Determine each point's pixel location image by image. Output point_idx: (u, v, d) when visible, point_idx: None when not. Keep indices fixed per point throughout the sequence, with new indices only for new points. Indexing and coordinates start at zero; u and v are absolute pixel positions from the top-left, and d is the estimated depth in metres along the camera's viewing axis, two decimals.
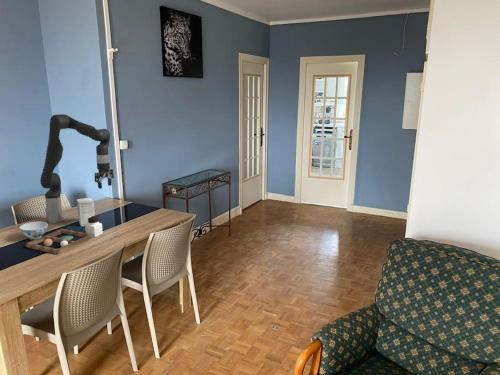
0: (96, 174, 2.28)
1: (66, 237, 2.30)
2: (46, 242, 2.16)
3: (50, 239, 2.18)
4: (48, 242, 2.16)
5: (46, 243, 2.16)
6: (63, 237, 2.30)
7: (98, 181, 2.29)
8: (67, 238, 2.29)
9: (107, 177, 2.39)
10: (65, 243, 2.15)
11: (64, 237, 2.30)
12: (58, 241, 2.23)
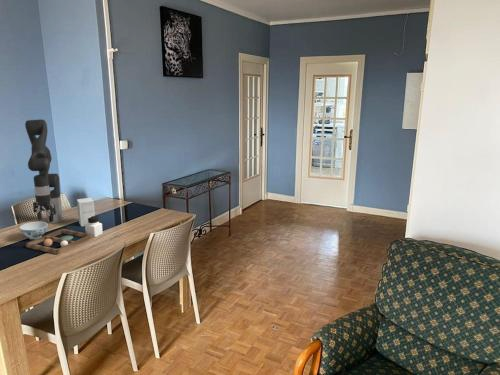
0: (53, 206, 2.10)
1: (66, 237, 2.30)
2: (46, 242, 2.16)
3: (50, 239, 2.18)
4: (48, 242, 2.16)
5: (46, 243, 2.16)
6: (63, 237, 2.30)
7: (55, 213, 2.12)
8: (67, 238, 2.29)
9: (38, 211, 2.14)
10: (65, 243, 2.15)
11: (64, 237, 2.30)
12: (58, 241, 2.23)
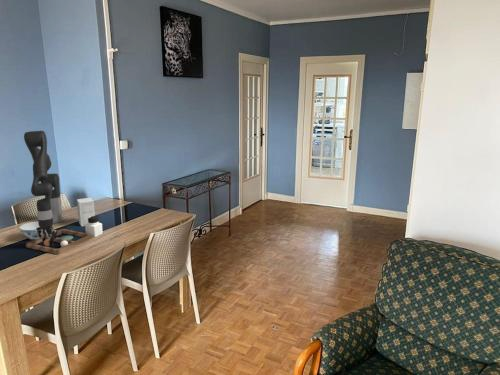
0: (55, 232, 2.14)
1: (66, 237, 2.30)
2: (46, 242, 2.16)
3: None
4: (48, 242, 2.16)
5: (46, 243, 2.16)
6: (63, 237, 2.30)
7: (55, 237, 2.16)
8: (67, 238, 2.29)
9: (43, 236, 2.17)
10: (65, 243, 2.15)
11: (64, 237, 2.30)
12: (58, 241, 2.23)
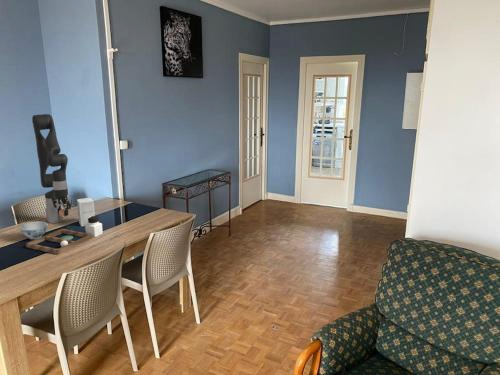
0: (70, 202, 2.22)
1: (66, 237, 2.30)
2: (61, 212, 2.23)
3: None
4: (63, 212, 2.24)
5: (61, 213, 2.23)
6: (63, 237, 2.30)
7: (70, 207, 2.24)
8: (67, 238, 2.29)
9: (58, 206, 2.25)
10: (65, 243, 2.15)
11: (64, 237, 2.30)
12: (58, 241, 2.23)
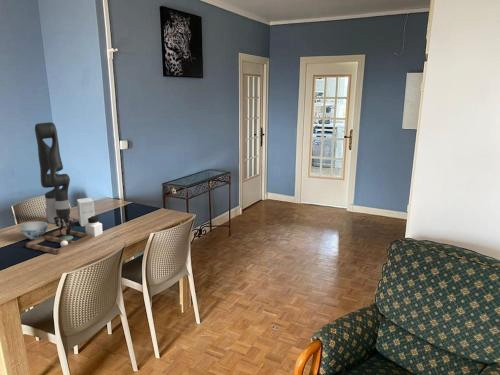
0: (72, 221, 2.25)
1: (66, 237, 2.30)
2: (63, 231, 2.26)
3: None
4: (65, 231, 2.26)
5: (63, 232, 2.26)
6: (63, 237, 2.30)
7: (72, 226, 2.27)
8: (67, 238, 2.29)
9: (60, 225, 2.27)
10: (65, 243, 2.15)
11: (64, 237, 2.30)
12: (58, 241, 2.23)
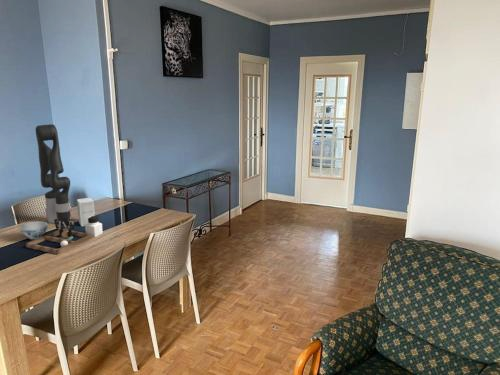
0: (73, 223, 2.25)
1: None
2: (64, 234, 2.27)
3: (67, 231, 2.29)
4: (66, 234, 2.27)
5: (64, 235, 2.27)
6: None
7: (73, 229, 2.27)
8: (67, 238, 2.29)
9: (60, 227, 2.28)
10: (65, 243, 2.15)
11: None
12: (58, 241, 2.23)
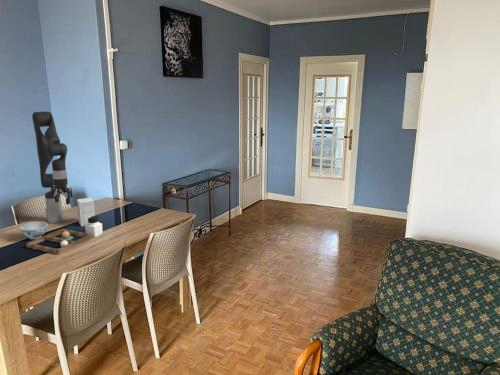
0: (70, 189, 2.22)
1: None
2: (64, 234, 2.27)
3: (67, 231, 2.29)
4: (66, 234, 2.27)
5: (64, 235, 2.27)
6: None
7: None
8: (67, 238, 2.29)
9: (56, 194, 2.26)
10: (65, 243, 2.15)
11: None
12: (58, 241, 2.23)
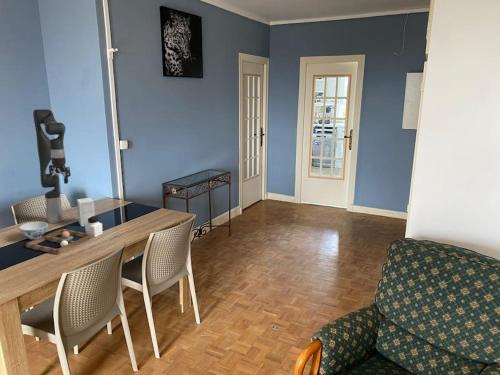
0: (68, 168, 2.24)
1: None
2: (64, 234, 2.27)
3: (67, 231, 2.29)
4: (66, 234, 2.27)
5: (64, 235, 2.27)
6: None
7: None
8: (67, 238, 2.29)
9: None
10: (65, 243, 2.15)
11: None
12: (58, 241, 2.23)
